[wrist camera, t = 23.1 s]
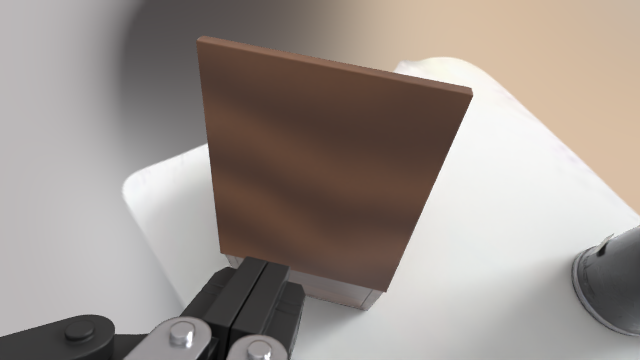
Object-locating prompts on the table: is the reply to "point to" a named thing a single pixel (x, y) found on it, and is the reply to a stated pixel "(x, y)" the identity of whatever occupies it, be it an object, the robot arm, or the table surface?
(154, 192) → the table surface
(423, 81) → the lid
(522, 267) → the table surface
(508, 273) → the table surface
